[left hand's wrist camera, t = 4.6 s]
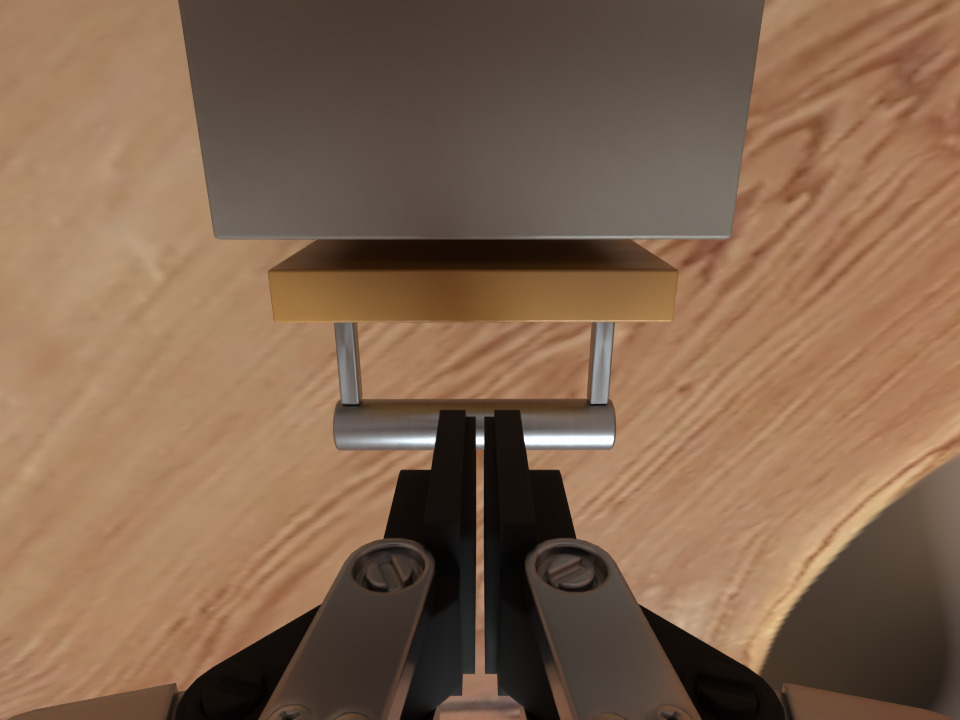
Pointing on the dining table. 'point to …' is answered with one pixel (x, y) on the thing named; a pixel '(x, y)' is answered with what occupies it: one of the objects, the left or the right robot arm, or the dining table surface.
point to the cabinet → (471, 117)
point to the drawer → (473, 298)
